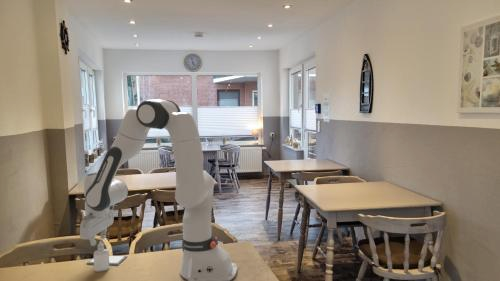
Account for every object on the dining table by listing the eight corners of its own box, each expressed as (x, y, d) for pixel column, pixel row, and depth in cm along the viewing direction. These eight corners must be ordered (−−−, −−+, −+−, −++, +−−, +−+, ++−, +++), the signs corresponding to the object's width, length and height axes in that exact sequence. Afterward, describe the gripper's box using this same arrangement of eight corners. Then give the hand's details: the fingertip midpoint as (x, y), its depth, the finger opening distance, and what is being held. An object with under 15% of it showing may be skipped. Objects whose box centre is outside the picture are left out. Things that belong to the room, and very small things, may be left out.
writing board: (127, 257, 150) (127, 256, 150) (118, 265, 142) (118, 264, 142) (97, 256, 152) (97, 255, 151) (86, 264, 144) (86, 263, 144)
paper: (124, 256, 149) (124, 256, 149) (117, 263, 143) (117, 262, 143) (98, 255, 151) (97, 255, 151) (89, 262, 144) (89, 261, 144)
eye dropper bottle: (105, 272, 136) (104, 243, 135) (92, 271, 137) (90, 242, 136) (111, 267, 140) (110, 239, 139) (98, 266, 141) (97, 238, 140)
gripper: (89, 217, 134) (91, 251, 135) (115, 203, 154) (117, 233, 155) (74, 217, 134) (76, 251, 135) (102, 203, 155) (104, 233, 156)
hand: (98, 241), depth 145 cm, fingers open, 6 cm apart
